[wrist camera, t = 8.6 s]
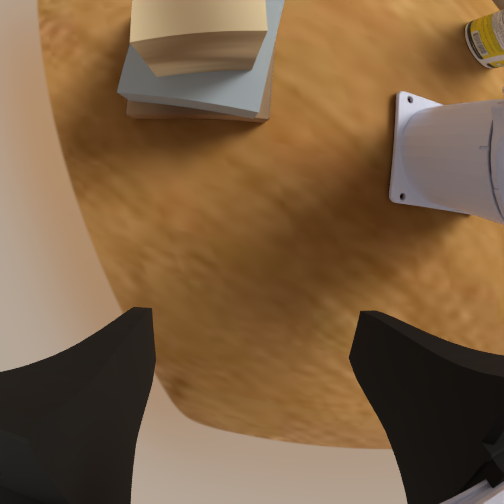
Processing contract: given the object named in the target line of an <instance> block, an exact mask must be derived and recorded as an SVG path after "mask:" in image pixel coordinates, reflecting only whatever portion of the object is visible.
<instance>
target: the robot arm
mask: <svg viewBox="0 0 504 504" xmlns="http://www.w3.org/2000/svg"><path fill="white" fill-rule="evenodd" d="M503 94H504V87H503ZM407 98H409V99H410V103H409V102H408V100H407ZM401 193H402V194H403V198H402V199H400V194H401ZM389 199H390V200H391V201H392V202H395V203H400V204H408V205H415V206H421V207H428V208H434V209H441V210H447V211H453V212H459V213H465V214H470V215H475V216H478V217H482V218H485V219H488V220H491V221H494V222H497V223H500V224H503V225H504V99H497V100H486V101H476V102H466V103H458V104H450V105H442V104H439V103H436V102H434V101H431V100H428V99H425V98H423V97H420V96H417V95H414V94H411V93H408V92H405V91H401V92H398V93H397V95H396V115H395V134H394V148H393V160H392V170H391V180H390V188H389ZM349 360H350V363H351V366H352V368H353V371H354V374H355V376H356V379H357V381H358V383H359V384H360V386H361V388H362V390H363V392H364V393H365V395H366V397H367V399H368V400H369V402H370V404H371V406H372V407H373V409H374V411H375V413H376V414H377V416H378V418H379V420H380V421H381V423H382V425H383V427H384V429H385V431H386V434H387V436H388V439H389V441H390V444H391V446H392V449H393V452H394V455H395V457H396V461H397V464H398V467H399V470H400V473H401V477H402V481H403V485H404V488H405V493H406V497H407V503H408V504H504V356H503V355H497V354H492V353H487V352H482V351H478V350H474V349H470V348H467V347H464V346H461V345H457V344H454V343H452V342H449V341H446V340H444V339H441V338H439V337H436V336H434V335H431V334H429V333H427V332H425V331H422V330H420V329H418V328H416V327H414V326H411V325H409V324H407V323H405V322H403V321H401V320H399V319H396V318H394V317H392V316H389V315H387V314H384V313H382V312H379V311H360V315H359V320H358V324H357V328H356V332H355V336H354V340H353V344H352V348H351V351H350V355H349ZM155 362H156V355H155V344H154V332H153V319H152V308H142V307H133V308H131V309H130V310H128V311H127V312H125V313H124V314H122V315H121V316H120V317H118V318H117V319H116V320H114V321H112V322H111V323H110V324H108V325H107V326H105V327H104V328H102V329H101V330H99V331H98V332H96V333H94V334H93V335H91V336H90V337H88V338H86V339H85V340H83V341H82V342H80V343H78V344H76V345H75V346H72V347H70V348H69V349H67V350H64V351H62V352H60V353H58V354H56V355H54V356H51V357H49V358H46V359H43V360H40V361H38V362H35V363H32V364H29V365H26V366H23V367H19V368H16V369H12V370H7V371H3V372H0V504H131V503H130V502H131V486H132V485H131V484H132V474H133V464H134V456H135V448H136V441H137V437H138V432H139V429H140V425H141V421H142V417H143V414H144V411H145V407H146V403H147V400H148V396H149V393H150V390H151V386H152V381H153V376H154V369H155Z"/></svg>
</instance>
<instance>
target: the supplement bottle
mask: <svg viewBox="0 0 504 504" xmlns="http://www.w3.org/2000/svg"><path fill="white" fill-rule="evenodd" d="M465 38H466V42H467V45H468V47H469V49H470V51H471V53H472V54H473V56H474V57H475V58H476V59H477V60H478V61H479V62H480V63H481V64H482V65H483V66H485V67H487V68H498V67H504V10H501V11H498V12H495V13H492V14H490V15H487V16H484V17H481V18H479V19H476V20H474V21H471V22H469V23H468V24H467V25H466V27H465Z"/></svg>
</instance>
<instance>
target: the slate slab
mask: <svg viewBox="0 0 504 504" xmlns="http://www.w3.org/2000/svg"><path fill="white" fill-rule="evenodd" d="M284 1H285V0H265V2H266V15H267V28H268V31H267V34H266V36H265V38H264V41H263V43H262V46H261V48H260V51H259V53H258V56H257V58H256V61H255V63H254V66H253V68H252V70H234V71H214V72H201V73H189V74H180V75H171V76H163V77H156V75H155V74H154V73H153V72H152V70H151V69H150V68H149V66H148V65H147V64H146V62H145V61H144V60H143V59H142V57H141V56H140V55H139V53H138V52H137V51H136V50H135V48H134V47H133V46H132V45H131V43H130V46H129V49H128V52H127V56H126V59H125V63H124V66H123V70H122V73H121V77H120V81H119V85H118V89H117V93H118V94H120V95H121V96H123V97H125V98H126V99H128V100H129V101H137V102H147V103H157V104H165V105H173V106H181V107H188V108H195V109H201V110H208V111H214V112H219V113H225V114H230V115H236V116H241V117H246V118H251V119H254V118H255V117H256V115H257V114H258V113H259V110H260V106H261V101H262V97H263V92H264V87H265V83H266V78H267V74H268V70H269V65H270V61H271V56H272V52H273V48H274V43H275V39H276V35H277V30H278V26H279V22H280V17H281V13H282V9H283V5H284Z"/></svg>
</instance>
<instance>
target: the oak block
mask: <svg viewBox="0 0 504 504" xmlns="http://www.w3.org/2000/svg"><path fill="white" fill-rule="evenodd" d="M267 31H268V28H267V15H266V2H265V0H132V12H131V28H130V43H131V45H132V46H133V47H134V48H135V50H136V51H137V52H138V53H139V55H140V56H141V57H142V59H143V60H144V61H145V62H146V64H147V65H148V66H149V68H150V69H151V70H152V72H153V73H154V74H155V75H156V77H163V76H171V75H180V74H189V73H201V72H214V71H234V70H252V68H253V66H254V63H255V61H256V58H257V56H258V53H259V51H260V48H261V46H262V43H263V41H264V38H265V36H266V34H267Z"/></svg>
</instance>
